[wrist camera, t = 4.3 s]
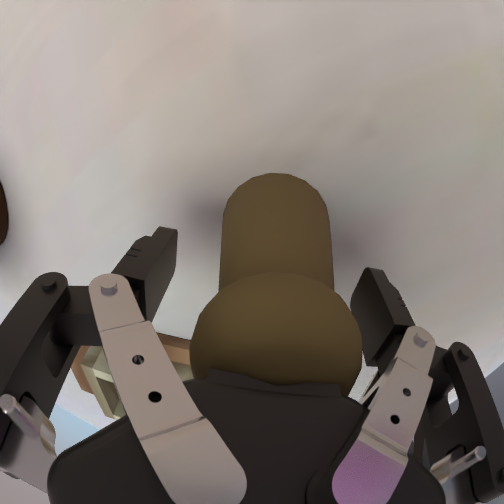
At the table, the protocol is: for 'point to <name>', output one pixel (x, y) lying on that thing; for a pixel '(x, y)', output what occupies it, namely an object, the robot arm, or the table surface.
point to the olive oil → (3, 217)
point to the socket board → (100, 380)
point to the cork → (277, 292)
